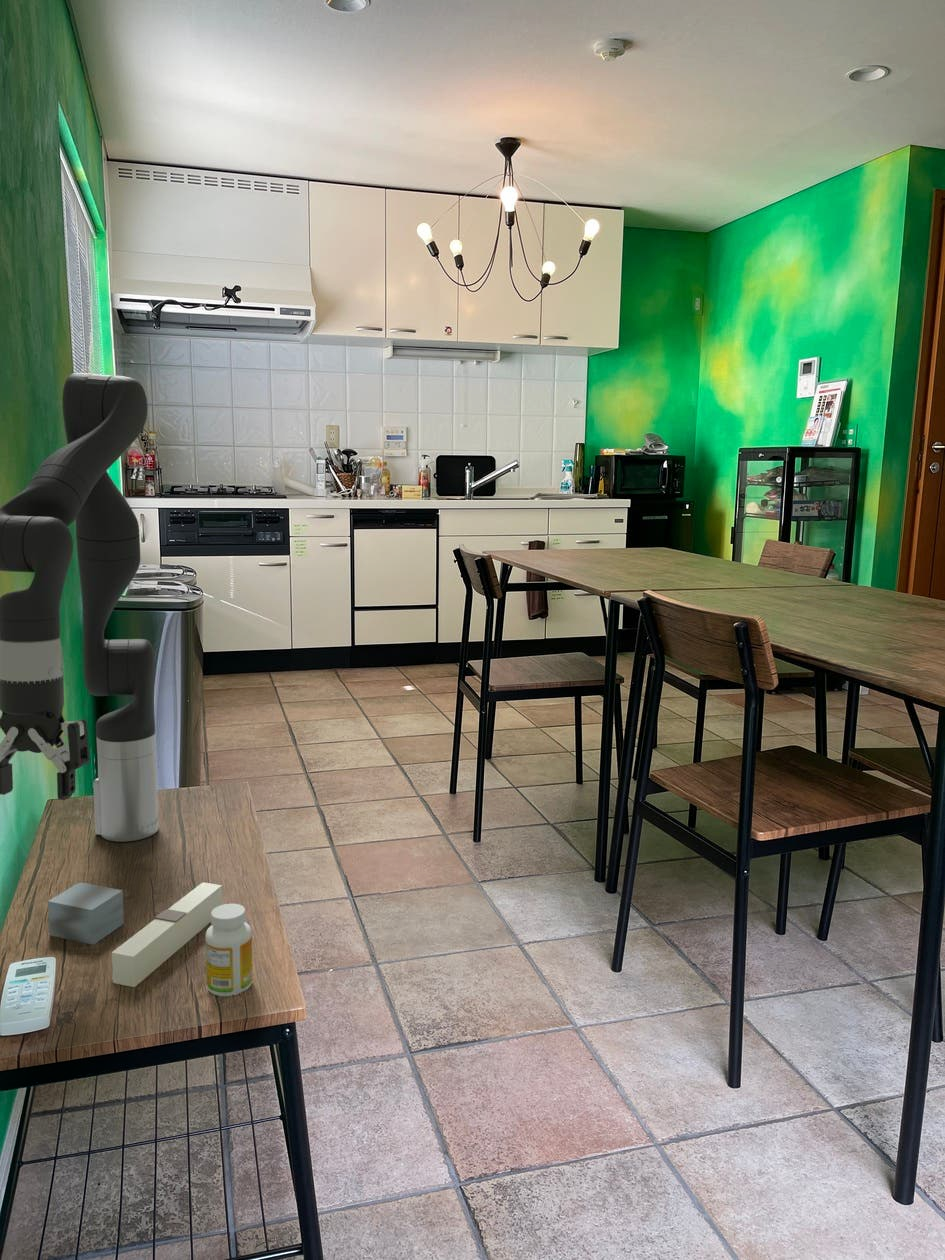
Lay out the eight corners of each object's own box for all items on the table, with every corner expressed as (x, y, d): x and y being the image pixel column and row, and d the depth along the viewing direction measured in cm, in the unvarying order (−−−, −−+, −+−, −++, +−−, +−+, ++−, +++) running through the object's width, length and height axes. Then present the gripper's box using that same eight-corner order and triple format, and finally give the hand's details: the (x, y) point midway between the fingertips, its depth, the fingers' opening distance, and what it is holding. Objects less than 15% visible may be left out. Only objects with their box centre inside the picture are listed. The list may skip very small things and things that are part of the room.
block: (49, 936, 122) (47, 901, 121) (81, 915, 127) (79, 882, 126) (93, 945, 120) (91, 910, 119) (123, 924, 125) (122, 890, 124)
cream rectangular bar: (112, 982, 111) (111, 950, 110) (203, 908, 130) (202, 880, 129) (134, 987, 110) (133, 955, 109) (222, 911, 129) (222, 884, 128)
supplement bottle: (244, 968, 115) (242, 896, 113) (258, 989, 110) (257, 915, 109) (201, 980, 112) (199, 906, 110) (214, 1002, 107) (212, 926, 106)
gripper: (99, 671, 119) (101, 791, 122) (-1, 664, 121) (4, 782, 124) (64, 682, 112) (68, 810, 114) (-41, 674, 114) (-35, 800, 116)
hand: (34, 795), depth 119 cm, fingers open, 8 cm apart
